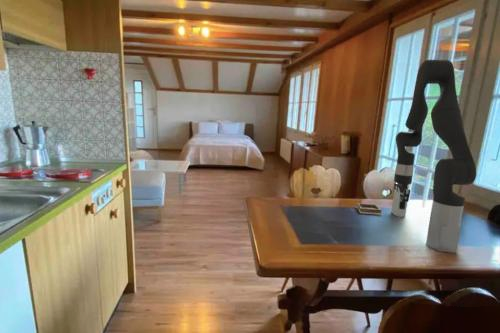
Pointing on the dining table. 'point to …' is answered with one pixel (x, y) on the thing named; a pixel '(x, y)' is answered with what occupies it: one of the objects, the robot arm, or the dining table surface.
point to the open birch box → (368, 209)
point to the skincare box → (396, 204)
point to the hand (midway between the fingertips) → (399, 206)
